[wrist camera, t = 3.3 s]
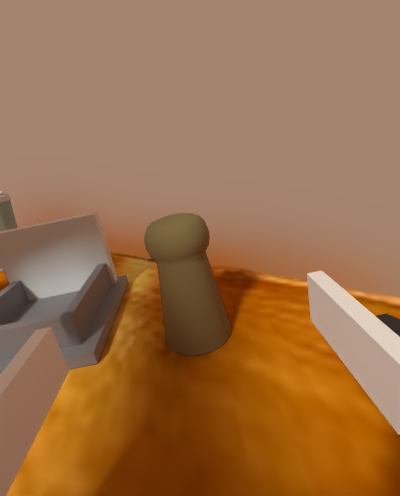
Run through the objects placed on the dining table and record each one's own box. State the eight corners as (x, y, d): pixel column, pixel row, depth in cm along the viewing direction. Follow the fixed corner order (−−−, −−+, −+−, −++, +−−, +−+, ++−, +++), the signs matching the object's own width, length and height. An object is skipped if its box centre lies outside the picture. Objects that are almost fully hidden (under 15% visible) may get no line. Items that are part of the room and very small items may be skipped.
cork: (186, 367, 23) (152, 234, 19) (155, 334, 28) (124, 223, 24) (245, 331, 26) (225, 209, 22) (207, 307, 31) (186, 204, 27)
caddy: (97, 363, 25) (55, 251, 22) (-73, 398, 25) (-142, 291, 22) (128, 283, 41) (106, 209, 37) (21, 304, 41) (-11, 233, 37)
